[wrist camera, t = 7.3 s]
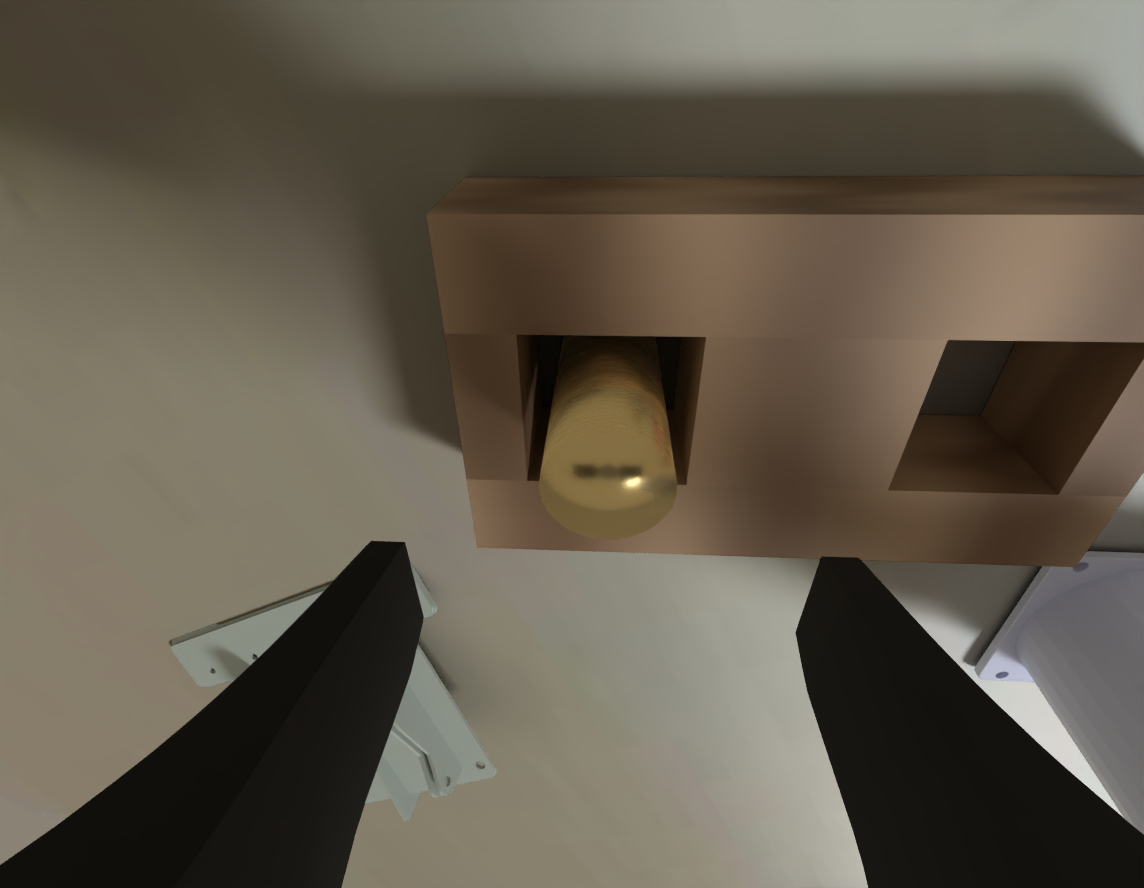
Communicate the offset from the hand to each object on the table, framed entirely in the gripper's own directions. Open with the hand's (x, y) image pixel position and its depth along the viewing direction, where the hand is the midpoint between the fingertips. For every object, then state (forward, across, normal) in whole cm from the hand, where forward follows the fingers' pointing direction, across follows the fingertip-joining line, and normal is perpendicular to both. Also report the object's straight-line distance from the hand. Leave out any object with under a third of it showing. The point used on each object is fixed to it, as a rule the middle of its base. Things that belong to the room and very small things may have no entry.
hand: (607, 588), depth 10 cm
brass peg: (+10, 0, 0) cm, 10 cm away
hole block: (+10, -5, 0) cm, 11 cm away
